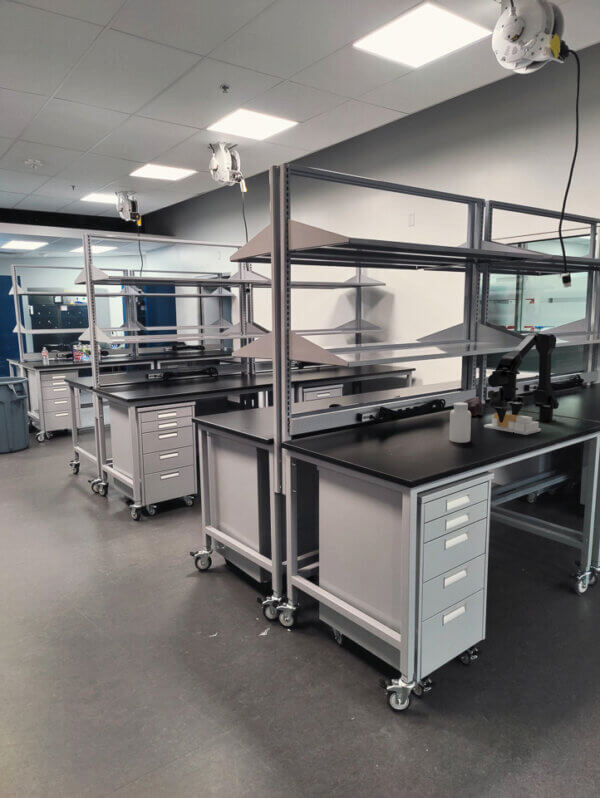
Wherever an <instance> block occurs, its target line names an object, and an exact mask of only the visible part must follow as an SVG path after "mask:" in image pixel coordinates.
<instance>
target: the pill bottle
mask: <svg viewBox="0 0 600 798" xmlns="http://www.w3.org/2000/svg"><path fill="white" fill-rule="evenodd" d="M467 407H468V404H467V403H463V401H462V402H460V401H459V402H458V401H457V402H454V403H453V409H452V410H450V413H449V437H448V438H449V441H451V442H452V443H453V442H454V443H460V444H461V443H462V444H463V443H465V444H466V443H469V442H470V441H471V429H472V427H471V426H472V416H471V412H470V411H469V410H467V409H468V408H467Z"/></svg>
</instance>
